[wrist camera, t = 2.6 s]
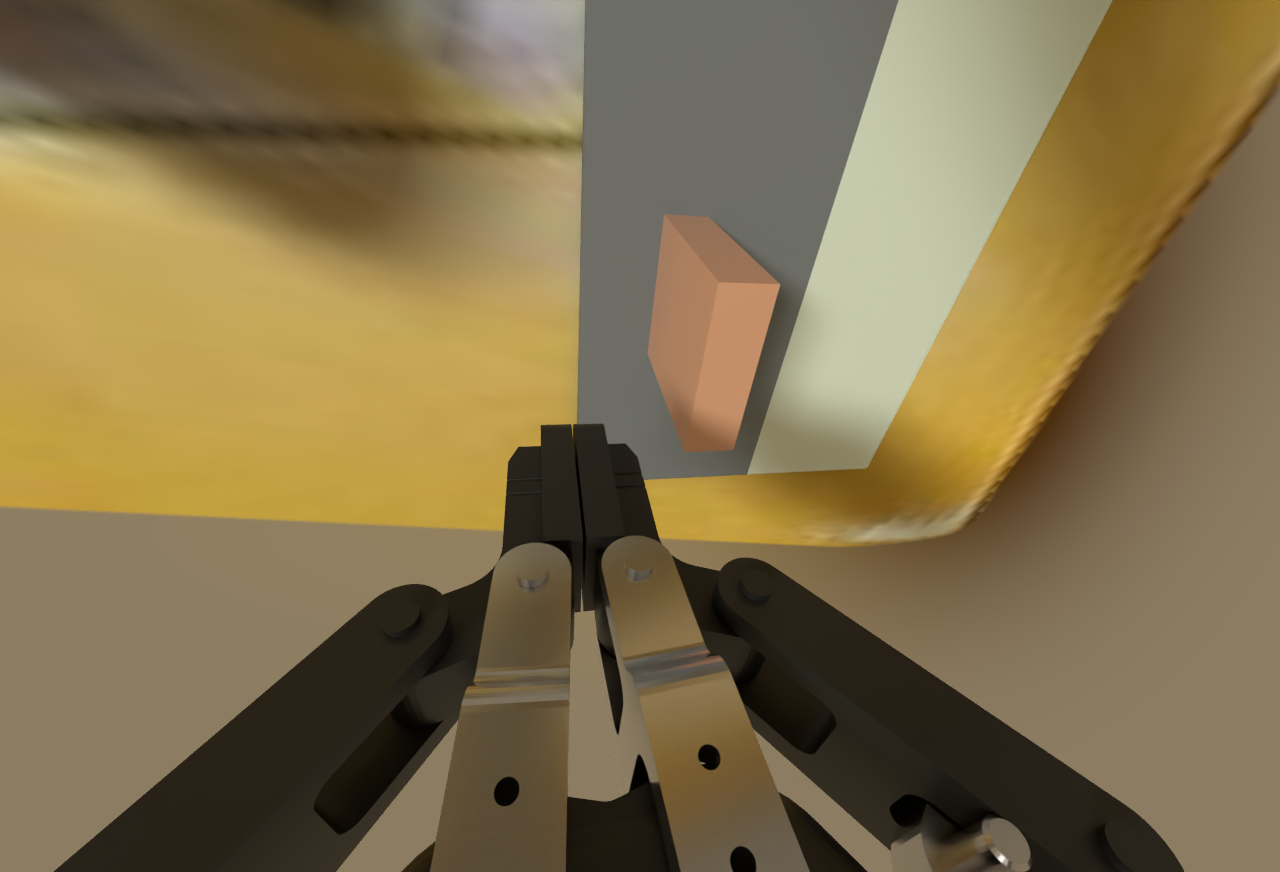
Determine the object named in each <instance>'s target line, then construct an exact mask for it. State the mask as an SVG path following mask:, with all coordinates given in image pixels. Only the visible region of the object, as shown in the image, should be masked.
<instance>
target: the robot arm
mask: <svg viewBox="0 0 1280 872" xmlns="http://www.w3.org/2000/svg"><path fill="white" fill-rule="evenodd" d="M581 589H582V598H583V610H584V611H591V610H595V619H596V628H597V632H596V650H597V656H598V661H599V666H600V672H601V677H602V683H603V688H604V693H605V698H606V704H607V709H608V715H609V720H610V726H611V730H612V736H613V744H614V754H615V769H616V777H617V785H618V791H619V798H617V799H615V800H612V801H608V802H601V801H594V800H587V799H579V798H573V797H568V752H569V751H568V750H569V697H570V695H569V694H570V650H571V648H572V645H573V640H574V612H580V608H581ZM458 719H459V720H458ZM457 720H458V725H457V731H456V736H455V741H454V747H453V752H452V758H451V763H450V768H449V773H448V779H447V784H446V789H445V795H444V800H443V805H442V810H441V816H440V821H439V827H438V832H437V837H436V841H435V842H434V843H433V844H432V845H430V846H429V847H428V848H427V849H426V850H424V851H423V852H422V853H420V854H419V855H418V856H417V857H416V858H415V859H414V860H413V861H412V862H411V863H410V864H409V865H408V866H407V867H406V868H405V869H404V870H403V871H402V872H867V871H866V870H865V869H864V868H863V867H862V866H861V865H860V864H859V863H858V862H857V861H856V860H855V859H854V858H853V857H852V856H851V855H850V854H849V853H848V852H847V851H846V850H845V849H844V848H843V847H842V846H841V845H840V844H839V843H838V842H837V841H836V840H835V839H834V838H833V837H832V836H831V835H830V834H829V833H828V832H827V831H825V829H824V828H823V827H822V826H821V825H820V824H819V823H818V822H817V821H815V820H814V819H813V818H812V817H811V816H810V815H809V814H808V813H807V812H806V811H805V810H804V809H802V808H801V807H799V806H798V805H797V804H796V803H795V802H793V801H792V800H790V799H789V798H788V797H786V796H784V795H783V794H781V793H779V792H778V790H777V788H776V786H775V783H774V780H773V778H772V776H771V773H770V771H769V768H768V765H767V763H766V760H765V758H764V755H763V753H762V750H761V748H760V745H759V743H758V740H757V738H756V735H755V733H754V730H755V731H756V732H758V733H759V734H760V735H761V736H762V737H763V738H764V739H765V740H767V741H768V742H769V743H770V744H771V745H772V746H773V747H774V748H776V749H777V750H778V751H779V752H780V753H781V754H782V755H783V756H784V757H786V758H787V759H788V760H789V761H790V762H791V763H792V764H793V765H795V766H796V767H797V768H798V769H799V770H800V771H801V772H802V773H804V774H805V775H806V776H807V777H808V778H809V779H811V781H813V782H814V783H815V784H816V785H817V786H818V787H819V788H821V789H822V790H823V791H824V792H825V793H826V794H827V795H828V796H829V797H831V798H832V799H833V800H834V801H835V802H836V803H837V804H838V805H840V806H841V807H842V808H843V809H844V810H845V811H846V812H847V813H849V814H850V815H851V816H852V817H853V818H854V819H856V820H857V821H858V822H859V823H860V824H861V825H862V826H863V827H864V828H866V829H867V830H868V831H869V832H870V833H871V834H872V835H873V836H874V837H876V838H877V839H878V840H879V841H880V842H881V843H882V844H883V845H885V846H886V847H887V848H888V849H889V850H890V851H891V861H892V866H893V871H894V872H1184V870H1183V868H1182V866H1181V865H1180V863H1179V861H1178V860H1177V858H1176V857H1175V855H1174V853H1173V852H1172V851H1171V849H1170V848H1169V847H1168V845H1167V844H1166V843H1165V842H1164V840H1163V839H1162V838H1161V837H1160V836H1159V835H1158V834H1157V832H1156V831H1155V830H1154V829H1153V828H1152V827H1151V826H1150V825H1149V824H1148V823H1147V822H1146V821H1145V820H1143V819H1142V818H1141V817H1140V816H1139V815H1138V814H1137V813H1135V812H1134V811H1133V810H1131V809H1130V808H1129V807H1127V806H1126V805H1125V804H1123V803H1121V802H1120V801H1119V800H1117V799H1116V798H1114V797H1112V796H1111V795H1110V794H1108V793H1107V792H1105V791H1104V790H1102V789H1101V788H1100V787H1098V786H1097V785H1095V784H1094V783H1092V782H1090V781H1089V780H1088V779H1086V778H1085V777H1083V776H1082V775H1080V774H1079V773H1077V772H1076V771H1074V770H1073V769H1071V768H1070V767H1069V766H1067V765H1066V764H1064V763H1063V762H1061V761H1060V760H1058V759H1057V758H1055V757H1054V756H1052V755H1051V754H1049V753H1047V752H1046V751H1045V750H1043V749H1042V748H1040V747H1039V746H1038V745H1036V744H1035V743H1033V742H1032V741H1030V740H1029V739H1027V738H1026V737H1024V736H1023V735H1021V734H1020V733H1018V732H1017V731H1015V730H1014V729H1012V728H1011V727H1009V726H1008V725H1007V724H1005V723H1003V722H1002V721H1001V720H999V719H998V718H996V717H995V716H993V715H992V714H990V713H989V712H987V711H986V710H984V709H983V708H981V707H980V706H978V705H977V704H975V703H974V702H973V701H971V700H970V699H968V698H967V697H965V696H964V695H962V694H961V693H959V692H958V691H956V690H955V689H953V688H952V687H950V686H949V685H947V684H946V683H944V682H943V681H941V680H940V679H939V678H937V677H935V676H934V675H933V674H931V673H930V672H928V671H927V670H925V669H923V668H922V667H921V666H919V665H918V664H916V663H915V662H913V661H912V660H911V659H909V658H908V657H906V656H905V655H903V654H902V653H900V652H899V651H897V650H896V649H894V648H893V647H891V646H890V645H888V644H887V643H885V642H884V641H882V640H881V639H880V638H878V637H877V636H875V635H873V634H872V633H871V632H869V631H868V630H866V629H865V628H863V627H862V626H860V625H859V624H857V623H856V622H854V621H853V620H851V619H850V618H848V617H847V616H845V615H844V614H843V613H841V612H839V611H838V610H837V609H835V608H834V607H832V606H831V605H829V604H828V603H826V602H825V601H823V600H822V599H820V598H819V597H817V596H816V595H814V594H813V593H812V592H810V591H808V590H807V589H806V588H804V587H802V586H801V585H800V584H798V583H797V582H795V581H794V580H792V579H791V578H789V577H788V576H786V575H785V574H783V573H782V572H781V571H779V570H778V569H776V568H775V567H773V566H771V565H770V564H768V563H766V562H764V561H761V560H758V559H753V558H738V559H734V560H732V561H730V562H728V563H727V564H725V565H724V566H723V568H722V569H721V571H717V570H712V569H707V568H703V567H698V566H693V565H690V564H687V563H684V562H682V561H680V560H678V559H677V558H675V557H674V556H672V555H671V554H670V552H669V551H668V550H667V549H666V548H665V546H664V545H662V543H661V542H660V539H659V536H658V533H657V529H656V525H655V521H654V517H653V514H652V510H651V506H650V502H649V498H648V495H647V491H646V489H645V483H644V479H643V476H642V472H641V468H640V464H639V460H638V457H637V456H636V454H635V453H634V452H633V451H632V450H631V449H630V448H629V447H628V446H627V444H626V443H620V444H608V443H607V438H606V432H605V427H604V424H603V423H600V424H573V436H572V427H571V424H564V425H541V446H533V447H518V448H517V450H516V451H515V453H514V454H513V456H512V457H511V459H510V460H509V462H508V474H507V489H506V504H505V519H504V535H503V548H502V553H501V556H500V559H499V561H498V562H497V564H496V565H495V567H494V568H493V569H492V570H491V571H490V572H489V573H488V574H487V575H486V576H484V577H483V578H481V579H480V580H478V581H477V582H475V583H473V584H470V585H468V586H465V587H463V588H460V589H457V590H454V591H452V592H449V593H446V594H444V595H442V594H441V593H440V592H439V591H437V590H436V589H434V588H432V587H430V586H426V585H421V584H409V585H404V586H400V587H396V588H393V589H391V590H389V591H386V592H384V593H383V594H381V595H379V596H378V597H377V598H375V599H374V600H373V601H371V602H370V603H369V604H368V605H367V606H366V607H364V608H363V609H362V610H361V611H360V612H358V613H357V614H356V615H355V616H354V617H353V618H351V619H350V620H349V621H348V622H347V623H345V624H344V625H343V626H342V627H341V628H340V629H339V630H337V631H336V632H335V633H334V634H333V635H331V636H330V637H329V638H328V639H327V640H326V641H324V642H323V643H322V644H321V645H320V646H319V647H318V648H316V649H315V650H314V651H313V652H311V653H310V654H309V655H308V656H307V657H306V658H305V659H303V660H302V661H301V662H300V663H298V664H297V665H296V666H295V667H294V668H293V669H291V670H290V671H289V672H288V673H287V674H285V675H284V676H283V677H282V678H281V679H280V680H278V681H277V682H276V683H275V684H274V685H273V686H271V687H270V688H269V689H268V690H267V691H266V692H264V693H263V694H262V695H261V696H260V697H259V698H257V699H256V700H255V701H254V702H253V703H251V704H250V705H249V706H248V707H247V708H246V709H244V710H243V711H242V712H241V713H240V714H238V715H237V716H236V717H235V718H234V719H233V720H231V721H230V722H229V723H228V724H227V725H226V726H224V727H223V728H222V729H221V730H220V731H218V732H217V733H216V734H215V735H214V736H213V737H211V738H210V739H209V740H208V741H207V742H206V743H204V744H203V745H202V746H201V747H200V748H198V749H197V750H196V751H195V752H194V753H193V754H191V755H190V756H189V757H188V758H187V759H186V760H185V761H183V762H182V763H181V764H180V765H178V766H177V767H176V768H175V769H174V770H173V771H171V772H170V773H169V774H168V775H167V776H166V777H164V778H163V779H162V780H161V781H160V782H158V783H157V784H156V785H155V786H154V787H153V788H151V789H150V790H149V791H148V792H147V793H146V794H144V795H143V796H142V797H141V798H140V799H138V800H137V801H136V802H135V803H134V804H133V805H131V806H130V807H129V808H128V809H127V810H126V811H125V812H123V813H122V814H121V815H120V816H119V817H117V818H116V819H115V820H114V821H113V822H112V823H110V824H109V825H108V826H107V827H106V828H104V829H103V830H102V831H101V832H100V833H98V834H97V835H96V836H95V837H94V838H93V839H91V840H90V841H89V842H88V843H87V844H86V845H84V847H82V848H81V849H80V850H78V851H77V852H76V853H75V854H74V855H73V856H71V857H70V858H69V859H68V860H67V861H66V862H64V863H63V864H62V865H61V866H60V867H59V868H57V869H56V870H55V871H54V872H336V871H337V870H338V868H339V867H340V866H341V865H342V863H343V862H344V861H345V860H346V859H347V857H348V856H349V855H350V854H351V852H352V851H353V850H354V849H355V847H356V846H357V845H358V843H359V842H360V841H361V840H362V839H363V837H364V836H365V835H366V834H367V832H368V831H369V830H370V829H371V827H372V826H373V825H374V824H375V822H376V821H377V820H378V819H379V817H380V816H381V815H382V814H383V812H384V811H385V810H386V808H387V807H388V806H389V805H390V804H391V802H392V801H393V800H394V799H395V797H396V796H397V795H398V794H399V793H400V791H401V790H402V789H403V788H404V786H405V785H406V784H407V783H408V781H409V780H410V779H411V778H412V776H413V775H414V774H415V773H416V771H417V770H418V769H419V768H420V766H421V765H422V764H423V763H424V761H425V760H426V759H427V757H428V756H429V755H430V754H431V753H432V751H433V750H434V749H435V748H436V746H437V745H438V744H439V743H440V741H441V740H442V739H443V738H444V736H445V735H446V734H447V733H448V732H449V730H450V729H451V728H452V727H453V725H454V724H455V723H456V722H457ZM753 729H754V730H753Z"/></svg>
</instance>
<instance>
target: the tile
mask: <svg viewBox="0 0 1280 872" xmlns="http://www.w3.org/2000/svg"><path fill="white" fill-rule="evenodd" d="M779 287H780V283H778V282H777V281H776V280H775V279H774V278H773V277H772V276H771V275H770V274H769V273H768V272H767V271H766V270H765V269H764V268H763V267H761V266H760V265H759V264H758V263H757V262H756V261H755V260H754V259H753V258H752V257H751V256H750V255H749V254H748V253H747V252H746V251H745V250H743V249H742V248H741V247H740V246H739V245H738V244H737V243H736V242H735V241H734V240H733V239H732V238H731V237H730V236H729V235H728V234H726V233H725V232H724V231H723V230H722V229H721V228H720V227H719V226H718V225H717V224H716V223H715V222H714V221H713V220H712V219H711V218H709V217H702V216H686V215H669V214H664V219H663V227H662V236H661V244H660V252H659V261H658V269H657V277H656V286H655V294H654V303H653V311H652V319H651V328H650V336H649V345H648V353H647V354H648V357H649V359H650V362H651V365H652V367H653V370H654V373H655V375H656V378H657V381H658V383H659V386H660V389H661V391H662V394H663V396H664V399H665V402H666V404H667V407H668V410H669V412H670V415H671V418H672V420H673V423H674V426H675V428H676V431H677V434H678V436H679V439H680V442H681V444H682V447H683V449H684V452H700V451H726V450H734V446H735V443H736V439H737V436H738V432H739V429H740V425H741V421H742V418H743V414H744V411H745V407H746V404H747V400H748V397H749V393H750V390H751V386H752V383H753V379H754V376H755V372H756V369H757V365H758V361H759V358H760V354H761V351H762V347H763V344H764V340H765V337H766V333H767V330H768V326H769V323H770V319H771V316H772V312H773V309H774V305H775V301H776V298H777V294H778V291H779Z"/></svg>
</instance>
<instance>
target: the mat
mask: <svg viewBox="0 0 1280 872" xmlns="http://www.w3.org/2000/svg"><path fill="white" fill-rule="evenodd" d="M1112 1H1113V0H585V45H584V97H583V149H582V201H581V253H580V305H579V357H578V409H577V424H600V423H603V424H604V427H605V432H606V438H607V443H608V444H620V443H626V444H627V446H628V447H629V448H630V449H631V450H632V451H633V452H634V453H635V454H636V456H637V457H638V460H639V464H640V468H641V472H642V476H643V479H644V480H647V479H667V478H687V477H707V476H727V475H746V474H766V473H786V472H806V471H826V470H845V469H865V468H868V466H869V464H870V462H871V460H872V458H873V456H874V454H875V452H876V450H877V449H878V447H879V445H880V443H881V441H882V439H883V437H884V435H885V433H886V431H887V430H888V428H889V426H890V424H891V422H892V420H893V418H894V416H895V414H896V412H897V410H898V409H899V407H900V405H901V403H902V401H903V399H904V397H905V395H906V393H907V391H908V390H909V388H910V386H911V384H912V382H913V380H914V378H915V376H916V374H917V372H918V370H919V369H920V367H921V365H922V363H923V361H924V359H925V357H926V355H927V353H928V351H929V350H930V348H931V346H932V344H933V342H934V340H935V338H936V336H937V334H938V332H939V330H940V329H941V327H942V325H943V323H944V321H945V319H946V317H947V315H948V313H949V311H950V310H951V308H952V306H953V304H954V302H955V300H956V298H957V296H958V294H959V292H960V290H961V289H962V287H963V285H964V283H965V281H966V279H967V277H968V275H969V273H970V271H971V270H972V268H973V266H974V264H975V262H976V260H977V258H978V256H979V254H980V252H981V251H982V249H983V247H984V245H985V243H986V241H987V239H988V237H989V235H990V233H991V231H992V230H993V228H994V226H995V224H996V222H997V220H998V218H999V216H1000V214H1001V212H1002V211H1003V209H1004V207H1005V205H1006V203H1007V201H1008V199H1009V197H1010V195H1011V193H1012V191H1013V190H1014V188H1015V186H1016V184H1017V182H1018V180H1019V178H1020V176H1021V174H1022V172H1023V171H1024V169H1025V167H1026V165H1027V163H1028V161H1029V159H1030V157H1031V155H1032V153H1033V151H1034V150H1035V148H1036V146H1037V144H1038V142H1039V140H1040V138H1041V136H1042V134H1043V132H1044V131H1045V129H1046V127H1047V125H1048V123H1049V121H1050V119H1051V117H1052V115H1053V113H1054V111H1055V110H1056V108H1057V106H1058V104H1059V102H1060V100H1061V98H1062V96H1063V94H1064V92H1065V91H1066V89H1067V87H1068V85H1069V83H1070V81H1071V79H1072V77H1073V75H1074V73H1075V71H1076V70H1077V68H1078V66H1079V64H1080V62H1081V60H1082V58H1083V56H1084V54H1085V52H1086V51H1087V49H1088V47H1089V45H1090V43H1091V41H1092V39H1093V37H1094V35H1095V33H1096V31H1097V30H1098V28H1099V26H1100V24H1101V22H1102V20H1103V18H1104V16H1105V14H1106V12H1107V11H1108V9H1109V7H1110V5H1111V3H1112ZM664 214H669V215H686V216H702V217H709V218H711V219H712V220H713V221H714V222H715V223H716V224H717V225H718V226H719V227H720V228H721V229H722V230H723V231H724V232H725V233H726V234H728V235H729V236H730V237H731V238H732V239H733V240H734V241H735V242H736V243H737V244H738V245H739V246H740V247H741V248H742V249H743V250H745V251H746V252H747V253H748V254H749V255H750V256H751V257H752V258H753V259H754V260H755V261H756V262H757V263H758V264H759V265H760V266H761V267H763V268H764V269H765V270H766V271H767V272H768V273H769V274H770V275H771V276H772V277H773V278H774V279H775V280H776V281H777V282H778V283H780V287H779V291H778V294H777V298H776V301H775V305H774V309H773V312H772V316H771V319H770V323H769V326H768V330H767V333H766V337H765V340H764V344H763V347H762V351H761V354H760V358H759V361H758V365H757V369H756V372H755V376H754V379H753V383H752V386H751V390H750V393H749V397H748V400H747V404H746V407H745V411H744V414H743V418H742V421H741V425H740V429H739V432H738V436H737V439H736V443H735V446H734V450H726V451H700V452H684V449H683V447H682V444H681V442H680V439H679V436H678V434H677V431H676V428H675V426H674V423H673V420H672V418H671V415H670V412H669V410H668V407H667V404H666V402H665V399H664V396H663V394H662V391H661V389H660V386H659V383H658V381H657V378H656V375H655V373H654V370H653V367H652V365H651V362H650V359H649V357H648V354H647V353H648V345H649V336H650V328H651V319H652V311H653V303H654V294H655V286H656V277H657V269H658V261H659V252H660V244H661V236H662V227H663V219H664Z"/></svg>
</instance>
